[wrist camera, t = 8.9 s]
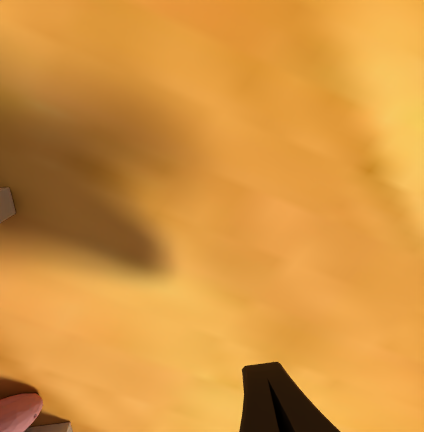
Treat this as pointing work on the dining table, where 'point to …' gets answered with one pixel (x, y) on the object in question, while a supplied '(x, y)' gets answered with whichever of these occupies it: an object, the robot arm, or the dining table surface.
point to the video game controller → (19, 411)
